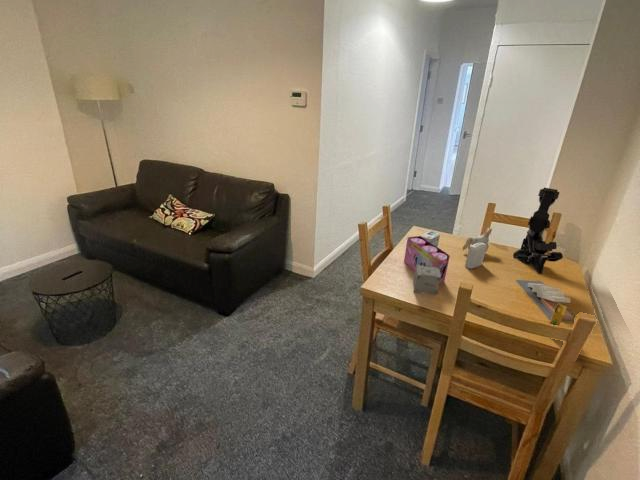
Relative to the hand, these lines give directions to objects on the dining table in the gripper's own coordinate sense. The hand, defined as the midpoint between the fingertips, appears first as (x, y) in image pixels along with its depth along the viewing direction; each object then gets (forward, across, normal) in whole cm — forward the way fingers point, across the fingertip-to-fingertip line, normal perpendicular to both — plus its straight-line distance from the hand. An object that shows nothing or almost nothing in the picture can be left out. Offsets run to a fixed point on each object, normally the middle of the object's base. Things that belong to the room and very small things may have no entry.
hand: (540, 274), depth 148 cm
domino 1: (+4, 0, +5) cm, 7 cm away
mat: (+12, 0, -1) cm, 12 cm away
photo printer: (-7, -21, +18) cm, 29 cm away
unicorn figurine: (-21, -15, +32) cm, 41 cm away
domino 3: (+10, 0, -1) cm, 10 cm away
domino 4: (+12, 0, -3) cm, 12 cm away
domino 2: (+7, 0, +2) cm, 7 cm away
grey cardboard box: (+12, -51, -1) cm, 52 cm away
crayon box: (+27, -8, -16) cm, 32 cm away
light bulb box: (-15, -42, +26) cm, 52 cm away
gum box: (0, -48, +11) cm, 49 cm away
